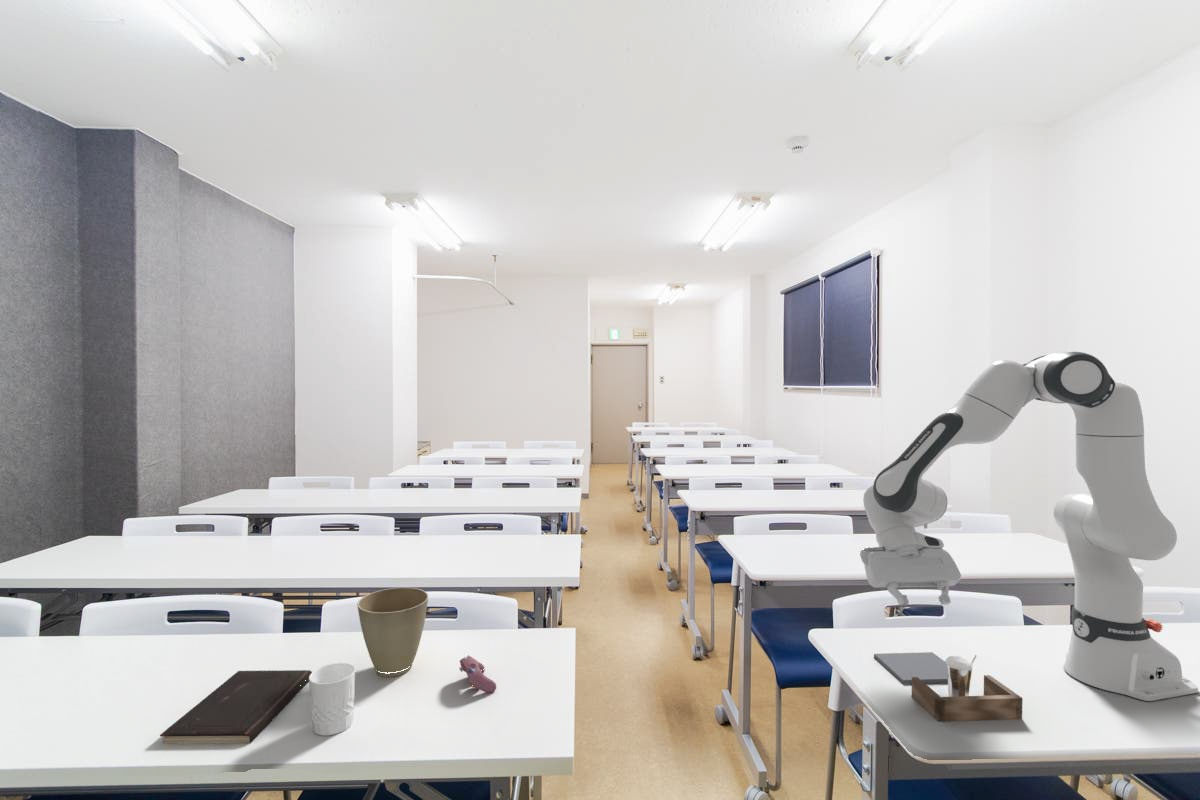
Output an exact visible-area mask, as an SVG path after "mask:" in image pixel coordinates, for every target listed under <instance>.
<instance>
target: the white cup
mask: <svg viewBox="0 0 1200 800" xmlns="http://www.w3.org/2000/svg"><path fill="white" fill-rule="evenodd" d="M311 672H312V673H311V674H310V676H309V682H308V683H309V684H308V685H309V686H308V687H309V698H310V699H309V700H310V710H311V717H312V718H311V719H312V729H313V732H314V734H316V735H319V736H324V737H325V736H326V737H327V736H333V735H337V734H340V733H342V732H344V731H346V730H347V729H349V727H350V726H351V725H352V723H353V721H354V709H355V708H354V706H355V695H356V692H355V689H356V688H355V687H356V667H355V666H354V665H353V664H351V663H348V662H336V663H331V664H326V665H324V666H321V667H319V668H317V669H315V670H314V671H311Z"/></svg>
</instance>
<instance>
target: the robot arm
mask: <svg viewBox="0 0 1200 800" xmlns="http://www.w3.org/2000/svg"><path fill="white" fill-rule="evenodd" d="M1033 400H1037V401H1040V402H1041V401H1042V402H1048V403H1053V404H1067V405H1068V406H1069V407H1070V408H1071V409H1072V411H1073V412H1074V413H1073V414H1074V418H1075V467H1076V471H1077V472H1078V474H1079V475H1080V476H1081V477H1082V478H1083V480H1084V481H1085V484H1086V485H1087V488H1088V490H1089V492H1076V493H1075V492H1074V493H1069V494H1066V495H1063V496H1062V497H1061V498H1059V500H1057V502H1056V503H1055V505H1054V509H1053V518H1054V521H1055V523H1056V524H1057V525H1058V527H1059V528H1060V530H1061V531H1062V533H1063V536H1064V538H1065V540H1066V541H1065V542H1066V544H1067V547H1068V548H1067V549H1068V551H1069V554H1070V558H1071V561H1072V566H1073V571H1074V604H1073V605H1072V606H1071V624H1072V629H1071V630H1072V631H1071V636H1070V641H1069V646H1068V652H1066V655H1065V662H1064V664H1063V670H1064V671H1065V672H1066V673H1068V674H1069V676H1071V677H1072V678H1074V679H1077V680H1078V681H1080V682H1083V683H1084V684H1085V685H1086V684H1087V685H1089V686H1093V687H1095V688H1099V689H1100V690H1105V691H1109V692H1112V693H1116V694H1120V695H1124V696H1129V697H1132V698H1134V699H1137V700H1141V701H1145V702H1152V701H1158V700H1164V699H1170V698H1175V697H1181V696H1186V695H1190V694H1191V695H1192V694H1196V693H1199V688H1198V686H1197V685H1196V684H1195V683H1194V682H1193V681H1191V680H1190V679H1188V678H1187V677H1185V676H1183V670H1182V664H1181V661H1180V660H1179V658H1178V657H1177V655H1176V654H1175V653H1173V652H1171V651H1170V650H1169V649H1168V648H1166V647H1165V646H1163V644H1161V643H1160V642H1158V641H1157V640H1155V639H1154V637H1152V636H1151V633H1150V630H1152V631H1153V632H1155V633H1160V632H1162V631H1163V628H1164V627H1163V624H1162V623H1161V622H1158V621H1155V620H1153V619H1148V620H1147V619H1145V618H1144V617H1143V606H1144V585H1143V581H1142V580H1141V578H1140V576H1139V574H1138V573H1137V572H1136V571H1135V569H1134V568H1133V565H1132V564H1131V560H1130V559H1132V560H1133V559H1134V560H1142V561H1157V560H1161V559H1164V558H1165V557H1166V556H1168V555H1169V554H1170V553H1172V551H1174V548H1175V546H1176V545H1177V540H1178V539H1177V537H1178V534H1177V531H1176V528H1175V526H1174V524H1173V523H1172V522H1171V521H1170V520H1169V519H1168V518H1167V517H1166V516H1165V515H1164V513H1163V512H1162V510H1161V509H1160V507H1159V505H1158V504H1157V501H1156V499H1155V496H1154V494H1153V491H1152V489H1151V486H1150V483H1149V480H1148V476H1147V473H1146V462H1145V460H1146V459H1145V458H1146V457H1145V456H1146V455H1145V427H1144V417H1143V410H1142V405H1141V402H1140V399H1139V395H1138V393H1137V390H1135V389H1134V388H1133V387H1131V386H1130V385H1127V384H1125V383H1122V382H1117V381H1116V382H1115V380H1114V379H1113V377H1112V376H1111V375H1110V374H1109V371H1108V370H1107V368H1106V366H1105V364H1104V363H1103V362H1102V361H1101V360H1100V359H1098V358H1097V357H1096V356H1094V355H1092V354H1090V353H1086V352H1081V351H1060V352H1059V351H1058V352H1053V353H1050V354H1046V355H1042V356H1039V357H1036V358H1034V359H1032V360H1030V361H1027V362H1026V363H1025V362H1024V363H1023V364H1021V363H1019V362H1016V361H1014V360H1013V361H1012V360H997V361H994V362H993V363H991V364H990V365H989V366H988V367H987V368H986V369H985V370H984V371H982V372H981V373H980V375H978V376H977V377H976V379H975V380H973V382H972V383H971V384H970V386H969V387H968V388H967V389H966V390H965V392H964V394H963V395H962V396H961V397H960V399H959V400H958V401H957V402H956V403H955V404H954V405H953V406H952V407H951V408H950V409H948V410H947V411H946V412H943V413H941V414H939V415H938V416H937V417H935V418H934V419H933V420H932V421H931V422H930V423H929V424H928V425H927V426H926V427H925V428H924V429H923V430H922V431H921V432H920V433H919V435H918V436H916V437H915V439H914V440H913V441H912V442H911V443H910V444H909V446H908V447H906V449H905V450H904V451H903V452H902V453H901V455H899V457H897V458H896V459H895V461H893V462H892V463H891V464H889V465H887V466H886V467H885V468H883V469H882V470H881V471H880V472H879V473H878V474H877V476H876V477H875V479H874V481H873V484H872V485H871V486H869V487H868V488H867V489H866V490H865V491H864V494H863V499H862V500H863V507H864V511H865V514H866V517H867V519H868V522H869V524H870V527H871V529H873V531H874V532H875V539H876V543H877V544H878V545H877V546H875V547H870V546H868V547H866V546H865V547H863V549H861V550H860V553H859V556H860V558H861V561H862V563H863V565H864V570H865V575H866V579H867V582H868V584H869V585H870V586H871V587H873V588H876V589H877V588H887V591H888V593H890V595H891V596H893V597H894V599H896V601H897V603H898V605H899V606H908V605H909V599H908V597H907V595H906V594H903V593H902V592H900V590H899V589H898V588H914V587H915V588H916V587H918V588H920V587H921V588H922V587H923V588H925V587H926V588H927V587H937V589H938V590H939V591H941V594H940V595H939V596H938V597H937V599H938V601H939V603H940V604H941V605H946V606H947V605H949V604H951V603H952V601H951V598H950V595H949V591H950V587H954V586H956V585H957V584H958V583H959V581H961V577H962V575H961V572H960V569H959V568H958V565H957V564H956V562H955V560H954V558H953V557H952V555H951V554H950V553H949V552H948V551H947V550H945V549H943V548H944V547H945V544H944V542H943V540H942V539H940V538H937V537H934V536H930V535H926V534H923V533H921V532H919V531H916V528H917V527H922V526H925V525H928V524H932V523H933V522H936V521H938V520H940V519H941V518H942V516H944V514H945V513H946V511H947V509H948V508H947V507H948V497H947V494H946V492H945V491H944V490H943V489H942V488H941V487H939V486H938V485H936V484H934V483H932V482H930V481H929V480H926V479H924V478H923V476H924V474H926V472H927V471H928V470H929V469H930V467H932V466H933V465H934V463H936V462H937V460H938V459H939V458H940V457H941V456H942V455H943V454H944V453H945V452H946V451H947V450H949V449H950V448H952V447H955V446H958V445H965V444H968V445H969V444H970V445H971V444H972V445H982V444H988V443H991V442H994V441H996V440H997V439H998V438H999V437H1001V436H1002V435H1003V434H1004V433H1005V432H1006V431H1007V430H1008V428H1009V427H1010V426H1011V424H1012V423H1013V422H1014V420H1016V417H1017V416H1018V415H1019V413H1020V412H1021V410H1022V408H1024V407H1025V406H1026V405H1027V404H1028V403H1030V402H1031V401H1033Z"/></svg>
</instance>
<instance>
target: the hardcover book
mask: <svg viewBox="0 0 1200 800" xmlns="http://www.w3.org/2000/svg"><path fill="white" fill-rule="evenodd" d="M312 672H313V671H312V670H309V669H308V670H307V669H305V670H304V669H303V670H298V669H297V670H295V669H294V670H291V669H290V670H238V671H236V672H235V673H234V674H233V675H232V676H230V677H229V678H228V679H227V680H225V681H224V682H223V683H222V684H220V685H219V686H218V687H217V688H216V689H215V690H213V691H212V692H210V694H209V695H207V696H206V697H205V698H204V699H202V700H201V701H200V702H199V703H197V704H196V705H195V706H193V707H192V708H191V709H190V710H188V712H186V713H185V714H184V715H183V716H182V717H180V718H179V719H178V720H176V721H175V722H174V723H172V724H171V726H169V727H168V728H167V729H166V730H164V731H162V733H161V734H159V737H162V738H163V739H162V744H236V743H237V744H243V743H245V744H248V743H249V744H252V743H253V742H254V740H255V739H256V738H257V737H258V736H259V735H260V734H261V733H262V732H263V731H264V730H265V729H266V728H267V727H268V726H269V724H271V723H272V721H273V720H274V719H276V717H277V716H278V715H279V714H280V713H281V712H282V711H283V710H284V709H285V708H286V707H287V706H288V705H289V704H290V702H292V701H293V699H294V698H295V697H296V696H297V695H298V694H299V693H301V691H302V690H303V689H304V688H305V687H306V686H307V685H308V683H309V676H310V674H311V673H312ZM305 680H306V681H305ZM300 685H301V686H300Z"/></svg>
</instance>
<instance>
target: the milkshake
mask: <svg viewBox="0 0 1200 800" xmlns="http://www.w3.org/2000/svg"><path fill="white" fill-rule="evenodd" d="M976 658H977V655H976V654H975V655H974V656H973V658H972V661H971V662H970V661H969V660H967V659H966V658H964V657H961V656H958V655H950V656H948V657H947V658H946V659H945V662H946V671H947V679H948V683H947V693H948V697H957V696H970V686H971V679H972V673H973V671H972V670H973V664H974V662H975V660H976Z"/></svg>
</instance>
